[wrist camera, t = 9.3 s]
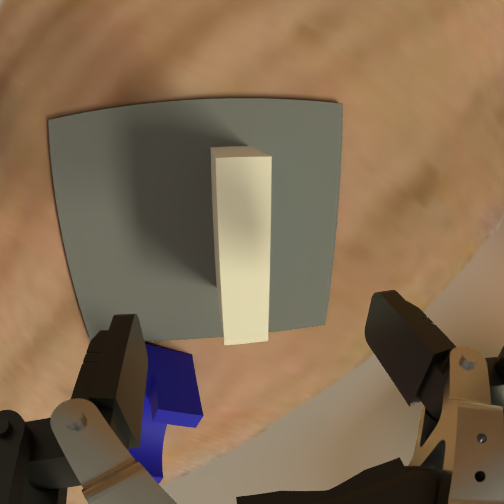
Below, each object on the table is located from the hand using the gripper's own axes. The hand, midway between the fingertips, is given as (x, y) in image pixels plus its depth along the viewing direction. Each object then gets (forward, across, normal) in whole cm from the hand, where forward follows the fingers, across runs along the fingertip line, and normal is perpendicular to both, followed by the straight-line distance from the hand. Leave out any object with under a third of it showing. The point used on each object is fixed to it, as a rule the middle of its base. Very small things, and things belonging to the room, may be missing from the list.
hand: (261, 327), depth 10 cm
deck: (+10, 0, 0) cm, 10 cm away
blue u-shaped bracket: (+10, +8, +15) cm, 20 cm away
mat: (+10, +2, 0) cm, 11 cm away
